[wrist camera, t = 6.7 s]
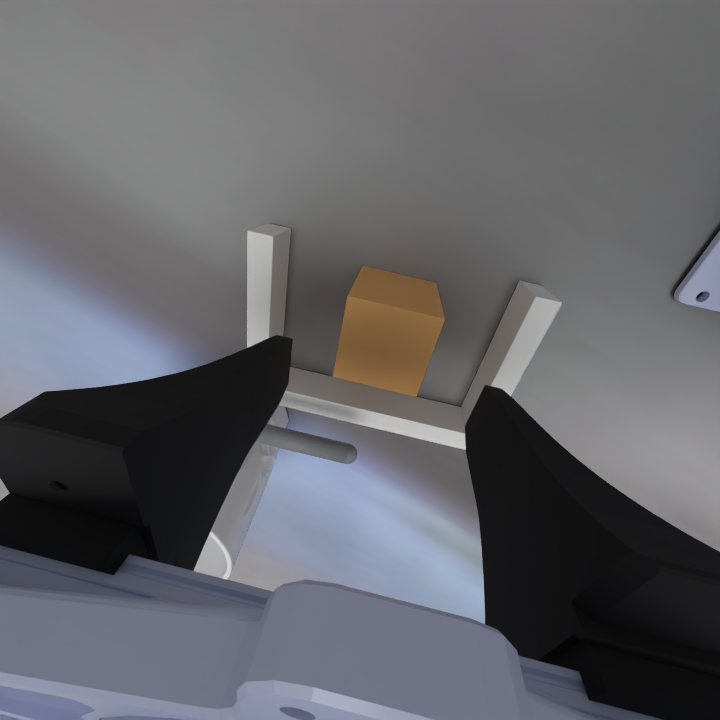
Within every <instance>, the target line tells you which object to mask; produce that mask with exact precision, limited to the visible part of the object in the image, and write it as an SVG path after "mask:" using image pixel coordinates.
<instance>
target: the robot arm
mask: <svg viewBox="0 0 720 720" xmlns="http://www.w3.org/2000/svg"><path fill="white" fill-rule="evenodd" d="M701 292H703V294H702V296H700V297H699V298H697V299H696V297H697V295H698V294H699V293H701ZM674 298H675V299H676V300H677V301H679V302H681V303H683V304H687V305H691V306H696V307H700V308H704V309H709V310H713V311H718V312H720V231H719V232H718V234H717V235H716V236H715V238H714V239H713V240H712V242H711V243H710V245H709V246H708V247H707V249H706V250H705V251H704V253H703V254H702V255H701V257H700V258H699V259H698V261H697V262H696V264H695V265H694V266H693V268H692V269H691V270H690V272H689V273H688V274H687V276H686V277H685V278H684V280H683V281H682V283H681V284H680V285H679V287H678V288H677V289H676V291H675V293H674ZM291 350H292V338H287V337H283V336H279V335H275V336H272V337H270V338H268V339H266V340H263V341H261V342H259V343H257V344H255V345H253V346H250V347H248V348H246V349H244V350H241V351H239V352H237V353H235V354H232V355H230V356H227V357H224V358H222V359H219V360H217V361H214V362H212V363H209V364H206V365H203V366H200V367H197V368H193V369H190V370H187V371H183V372H179V373H176V374H171V375H166V376H162V377H157V378H153V379H148V380H143V381H138V382H132V383H126V384H119V385H112V386H104V387H96V388H85V389H73V390H61V391H47V392H43V393H42V394H40V395H38V396H37V397H35V398H33V399H32V400H30V401H28V402H27V403H25V404H23V405H22V406H20V407H18V408H17V409H15V410H13V411H12V412H10V413H8V414H7V415H5V416H3V417H2V418H0V478H1V480H2V481H3V483H4V484H5V486H6V488H7V489H8V491H9V492H10V494H8V495H7V496H6V497H5V498H3V499H2V500H1V501H0V720H720V552H719V551H717V550H715V549H713V548H711V547H710V546H708V545H706V544H704V543H702V542H701V541H699V540H697V539H695V538H693V537H691V536H690V535H688V534H686V533H684V532H683V531H681V530H679V529H678V528H676V527H674V526H673V525H671V524H669V523H668V522H666V521H665V520H663V519H661V518H660V517H658V516H656V515H655V514H653V513H651V512H650V511H648V510H647V509H645V508H644V507H642V506H641V505H639V504H638V503H636V502H634V501H633V500H632V499H630V498H629V497H627V496H626V495H624V494H623V493H621V492H620V491H619V490H617V489H616V488H614V487H613V486H611V485H610V484H609V483H607V482H606V481H604V480H603V479H602V478H600V477H599V476H598V475H596V474H595V473H594V472H593V471H591V470H590V469H589V468H588V467H586V466H585V465H584V464H582V463H581V462H580V461H579V460H577V459H576V458H575V457H574V456H573V455H571V454H570V453H569V452H568V451H567V450H566V449H565V448H563V447H562V446H561V445H560V444H559V443H558V442H557V441H556V440H555V439H553V438H552V437H551V436H550V435H549V434H548V433H547V432H546V431H545V430H544V429H543V428H542V427H541V426H540V425H539V424H538V423H537V422H536V421H535V420H534V419H533V418H532V417H531V416H530V415H529V414H528V413H527V412H526V411H525V410H524V409H523V408H522V407H521V406H520V405H519V404H518V403H517V402H516V401H515V400H514V399H513V398H512V397H511V396H510V395H509V394H507V393H506V392H505V391H504V390H503V389H501V388H497V387H492V386H488V385H485V386H484V388H483V390H482V392H481V394H480V396H479V398H478V400H477V402H476V404H475V406H474V408H473V410H472V412H471V414H470V416H469V418H468V420H467V422H466V425H465V444H466V454H467V459H468V464H469V469H470V474H471V479H472V484H473V489H474V494H475V499H476V503H477V509H478V515H479V522H480V533H481V544H482V558H483V573H484V595H485V624H483V623H480V622H478V621H476V620H473V619H470V618H466V617H463V616H459V615H455V614H451V613H447V612H443V611H439V610H435V609H432V608H428V607H424V606H420V605H416V604H412V603H408V602H405V601H401V600H397V599H393V598H389V597H385V596H381V595H377V594H374V593H370V592H366V591H362V590H358V589H354V588H350V587H346V586H343V585H339V584H335V583H328V582H320V581H312V580H301V581H296V582H292V583H287V584H283V585H281V586H280V587H278V588H276V590H275V591H274V592H272V591H268V590H264V589H260V588H257V587H253V586H249V585H245V584H241V583H237V582H234V581H230V580H226V579H222V578H218V577H214V576H211V575H207V574H203V573H199V572H195V571H194V568H195V566H196V564H197V561H198V559H199V557H200V554H201V552H202V549H203V547H204V545H205V542H206V540H207V538H208V536H209V534H210V531H211V529H212V527H213V525H214V522H215V520H216V518H217V516H218V513H219V511H220V509H221V507H222V505H223V503H224V501H225V499H226V496H227V494H228V492H229V490H230V488H231V486H232V484H233V482H234V480H235V478H236V476H237V474H238V472H239V470H240V468H241V466H242V464H243V462H244V460H245V458H246V456H247V455H248V453H249V451H250V450H251V448H252V446H253V445H254V443H255V442H256V440H257V439H258V437H259V435H260V434H261V432H262V431H263V429H264V428H265V426H266V424H267V423H268V421H269V420H270V418H271V417H272V415H273V413H274V412H275V410H276V409H277V407H278V405H279V403H280V401H281V399H282V397H283V395H284V393H285V390H286V388H287V386H288V384H289V373H290V362H291Z"/></svg>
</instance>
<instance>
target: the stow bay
mask: <svg viewBox="0 0 720 720" xmlns="http://www.w3.org/2000/svg"><path fill="white" fill-rule="evenodd" d="M290 236H291V228H287V227H283V226H278V225H274V224H270V223H268V224H265V225H262V226H259V227H256V228H253V229H251V230H248V232H247V348H248V347H250V346H253V345H255V344H257V343H259V342H261V341H263V340H266V339H268V338H270V337H272V336H275V335H279V336H283V335H284V321H285V307H286V293H287V279H288V265H289V250H290ZM561 305H562V302H561V301H560V300H559V299H558V298H556V297H555V296H554V295H553V294H552V293H551V292H549V291H548V290H547V289H546V288H545V287H543V286H541V285H537V284H533V283H528V282H524V281H519V282H518V284H517V287H516V289H515V291H514V293H513V295H512V297H511V300H510V302H509V304H508V306H507V308H506V310H505V313H504V315H503V317H502V319H501V321H500V323H499V326H498V328H497V330H496V332H495V334H494V336H493V339H492V341H491V343H490V345H489V347H488V349H487V352H486V354H485V356H484V358H483V360H482V362H481V365H480V367H479V369H478V371H477V373H476V375H475V378H474V380H473V382H472V384H471V386H470V388H469V391H468V393H467V395H466V397H465V399H464V401H463V404H462V406H461V407H458V406H454V405H450V404H446V403H441V402H437V401H433V400H429V399H425V398H420V397H414V396H410V395H406V394H402V393H398V392H394V391H389V390H385V389H381V388H377V387H373V386H369V385H365V384H361V383H357V382H352V381H348V380H344V379H340V378H336V377H332V376H327V375H323V374H319V373H315V372H311V371H306V370H302V369H298V368H294V367H290V373H289V384H288V386H287V388H286V390H285V393H284V395H283V397H282V399H281V401H280V403H279V405H280V406H285V407H289V408H293V409H297V410H301V411H305V412H310V413H314V414H318V415H322V416H326V417H330V418H335V419H339V420H343V421H347V422H351V423H356V424H360V425H364V426H368V427H372V428H376V429H381V430H385V431H389V432H393V433H397V434H402V435H406V436H410V437H414V438H418V439H422V440H427V441H431V442H435V443H439V444H443V445H448V446H452V447H456V448H460V449H464V450H466V444H465V425H466V422H467V420H468V418H469V416H470V414H471V412H472V410H473V408H474V406H475V404H476V402H477V400H478V398H479V396H480V394H481V392H482V390H483V388H484V386H485V385H488V386H492V387H497V388H501V389H503V390H504V391H505V392H506V393H507V394H509V395H510V396H511V395H512V393H513V391H514V390H515V388H516V386H517V384H518V382H519V381H520V379H521V377H522V375H523V373H524V372H525V370H526V368H527V366H528V364H529V362H530V361H531V359H532V357H533V355H534V353H535V352H536V350H537V348H538V346H539V344H540V343H541V341H542V339H543V337H544V335H545V334H546V332H547V330H548V328H549V326H550V325H551V323H552V321H553V319H554V317H555V316H556V314H557V312H558V310H559V308H560V307H561ZM256 442H258V443H262V444H266V445H270V446H274V447H278V448H282V449H287V450H291V451H295V452H299V453H303V454H307V455H311V456H315V457H320V458H324V459H328V460H332V461H336V462H340V463H344V464H350V463H352V462H354V461H355V459H356V457H357V450H356V448H355V447H354V446H353V445H351V444H348V443H344V442H340V441H336V440H331V439H327V438H323V437H319V436H315V435H311V434H307V433H302V432H298V431H294V430H290V429H286V428H282V427H277V426H273V425H269V424H266V426H265V428H264V429H263V431H262V432H261V434H260V435H259V437H258V439H257V440H256Z"/></svg>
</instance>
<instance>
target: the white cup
mask: <svg viewBox="0 0 720 720" xmlns="http://www.w3.org/2000/svg"><path fill="white" fill-rule="evenodd" d="M288 422H289V419H288V415H287V411H286V407H285V406H280V405H278V407H277V409H276V410H275V412H274V413H273V415H272V417H271V418H270V420H269V421H268V423H267V424H269V425H273V426H277V427H282V428H287V425H288ZM277 451H278V447H274V446H270V445H266V444H262V443H258V442H255V443H254V445H253V446H252V448H251V450H250V451H249V453H248V455H247V456H246V458H245V460H244V462H243V464H242V466H241V468H240V470H239V472H238V474H237V476H236V478H235V480H234V482H233V484H232V486H231V488H230V490H229V492H228V494H227V496H226V499H225V501H224V503H223V505H222V507H221V509H220V511H219V513H218V516H217V518H216V520H215V522H214V525H213V527H212V529H211V531H210V534H209V536H208V538H207V540H206V542H205V545H204V547H203V549H202V552H201V554H200V557H199V559H198V561H197V564H196V566H195V568H194V571H195V572H199V573H203V574H207V575H211V576H214V577H218V578H222V579H227V578H228V577H229V575H230V574H231V571H232V569H233V566H234V564H235V561H236V559H237V556H238V554H239V551H240V549H241V546H242V544H243V541H244V539H245V536H246V534H247V531H248V529H249V526H250V524H251V522H252V519H253V517H254V514H255V512H256V509H257V507H258V504H259V502H260V499H261V497H262V494H263V492H264V489H265V487H266V485H267V482H268V480H269V477H270V475H271V471H272V468H273V465H274V463H275V461H276V458H277Z"/></svg>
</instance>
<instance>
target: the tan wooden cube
mask: <svg viewBox="0 0 720 720" xmlns="http://www.w3.org/2000/svg"><path fill="white" fill-rule="evenodd" d="M444 321H445V316H444V312H443V308H442V304H441V300H440V296H439V292H438V288H437V284H436V283H435V282H430V281H426V280H422V279H418V278H414V277H410V276H405V275H401V274H397V273H393V272H389V271H384V270H380V269H376V268H372V267H368V266H362V268H361V270H360V272H359V274H358V276H357V278H356V280H355V282H354V284H353V286H352V288H351V290H350V292H349V294H348V296H347V301H346V306H345V312H344V317H343V322H342V328H341V333H340V339H339V344H338V349H337V355H336V360H335V365H334V371H333V376H332V377H336V378H340V379H344V380H348V381H352V382H357V383H361V384H365V385H369V386H373V387H377V388H381V389H385V390H389V391H394V392H398V393H402V394H406V395H410V396H414V397H417V394H418V391H419V389H420V386H421V383H422V381H423V378H424V375H425V373H426V370H427V367H428V364H429V362H430V359H431V356H432V354H433V351H434V348H435V345H436V343H437V340H438V337H439V335H440V332H441V329H442V327H443V324H444Z"/></svg>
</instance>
